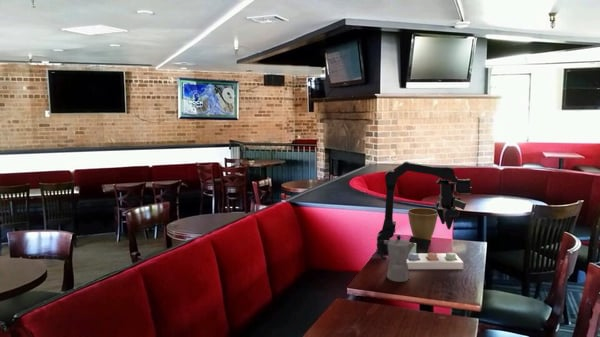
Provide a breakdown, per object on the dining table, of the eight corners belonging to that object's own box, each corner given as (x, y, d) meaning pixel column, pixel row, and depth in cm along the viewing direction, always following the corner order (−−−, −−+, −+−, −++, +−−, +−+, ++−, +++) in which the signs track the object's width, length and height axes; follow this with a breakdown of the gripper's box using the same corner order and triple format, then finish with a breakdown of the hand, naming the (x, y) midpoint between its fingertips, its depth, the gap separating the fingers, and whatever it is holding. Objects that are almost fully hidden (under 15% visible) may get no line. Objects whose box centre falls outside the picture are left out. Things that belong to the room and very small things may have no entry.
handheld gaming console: (400, 249, 223) (407, 230, 226) (403, 254, 229) (410, 236, 232) (423, 256, 217) (430, 237, 220) (425, 261, 223) (432, 242, 226)
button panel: (406, 269, 201) (406, 251, 199) (402, 259, 212) (402, 242, 211) (463, 269, 199) (463, 251, 198) (455, 259, 211) (455, 242, 210)
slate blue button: (410, 263, 203) (410, 255, 203) (408, 260, 207) (408, 252, 207) (419, 263, 203) (419, 255, 203) (417, 260, 207) (417, 252, 206)
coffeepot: (415, 275, 194) (415, 233, 191) (414, 283, 185) (415, 239, 182) (377, 272, 198) (378, 231, 195) (375, 280, 189) (375, 237, 186)
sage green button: (447, 263, 202) (447, 255, 202) (444, 260, 206) (445, 252, 206) (456, 263, 202) (456, 255, 202) (453, 260, 206) (454, 252, 206)
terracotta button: (428, 263, 203) (428, 255, 202) (426, 260, 207) (426, 252, 206) (437, 263, 203) (438, 255, 202) (435, 260, 207) (435, 252, 206)
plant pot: (402, 238, 245) (403, 208, 243) (429, 236, 248) (429, 207, 246) (414, 246, 231) (415, 215, 229) (442, 244, 233) (443, 213, 231)
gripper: (471, 197, 204) (470, 232, 206) (458, 189, 222) (457, 221, 224) (446, 197, 204) (445, 232, 206) (434, 189, 222) (434, 221, 225)
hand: (446, 226), depth 215 cm, fingers open, 9 cm apart
